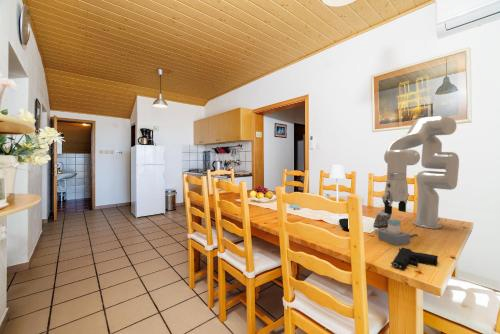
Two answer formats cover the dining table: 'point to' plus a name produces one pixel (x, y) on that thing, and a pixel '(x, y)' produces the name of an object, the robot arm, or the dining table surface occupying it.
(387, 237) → the port
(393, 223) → the plug
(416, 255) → the handgun
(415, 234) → the dark grey bar
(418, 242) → the dining table surface
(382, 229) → the grey square frame
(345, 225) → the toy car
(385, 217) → the rock
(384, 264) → the dining table surface
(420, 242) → the dining table surface
